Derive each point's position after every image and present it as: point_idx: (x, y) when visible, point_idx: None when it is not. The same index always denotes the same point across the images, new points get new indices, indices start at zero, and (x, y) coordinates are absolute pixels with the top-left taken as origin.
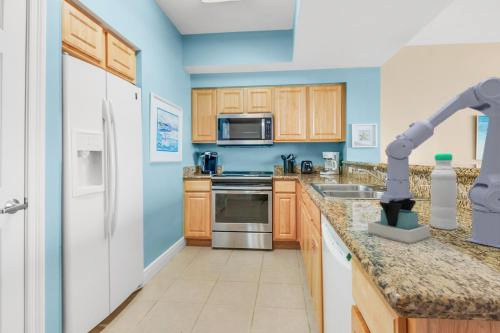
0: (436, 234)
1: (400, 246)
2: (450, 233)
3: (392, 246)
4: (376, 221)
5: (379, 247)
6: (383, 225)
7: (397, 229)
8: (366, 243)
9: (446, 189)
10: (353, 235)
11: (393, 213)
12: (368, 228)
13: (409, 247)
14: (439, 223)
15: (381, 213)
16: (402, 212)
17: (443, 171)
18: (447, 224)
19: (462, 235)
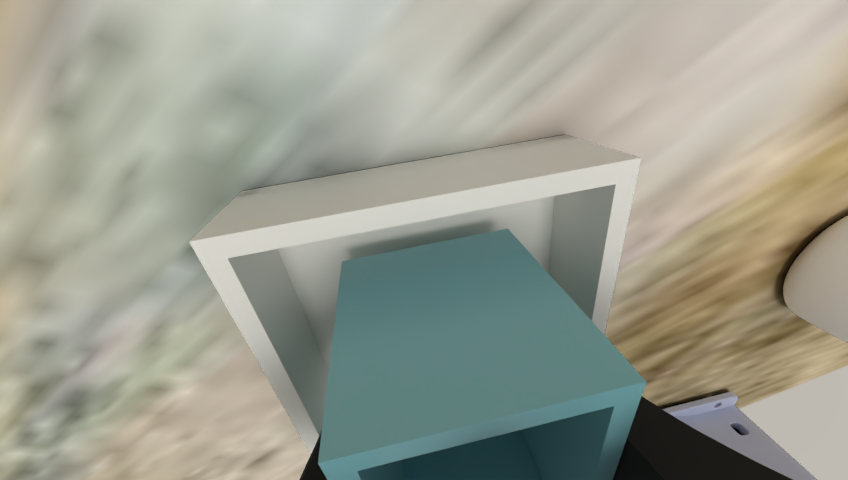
0: (640, 335)
1: (264, 426)
2: (708, 339)
3: (218, 422)
4: (345, 234)
5: (121, 423)
6: (279, 373)
7: (311, 448)
8: (64, 366)
9: None
10: (34, 183)
11: None
12: (223, 213)
13: (298, 439)
14: (823, 298)
15: (328, 404)
16: (570, 454)
17: None
18: (816, 324)
19: (701, 370)
